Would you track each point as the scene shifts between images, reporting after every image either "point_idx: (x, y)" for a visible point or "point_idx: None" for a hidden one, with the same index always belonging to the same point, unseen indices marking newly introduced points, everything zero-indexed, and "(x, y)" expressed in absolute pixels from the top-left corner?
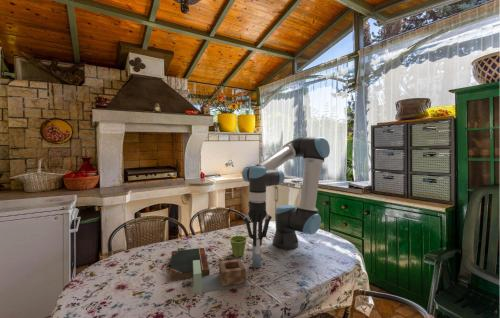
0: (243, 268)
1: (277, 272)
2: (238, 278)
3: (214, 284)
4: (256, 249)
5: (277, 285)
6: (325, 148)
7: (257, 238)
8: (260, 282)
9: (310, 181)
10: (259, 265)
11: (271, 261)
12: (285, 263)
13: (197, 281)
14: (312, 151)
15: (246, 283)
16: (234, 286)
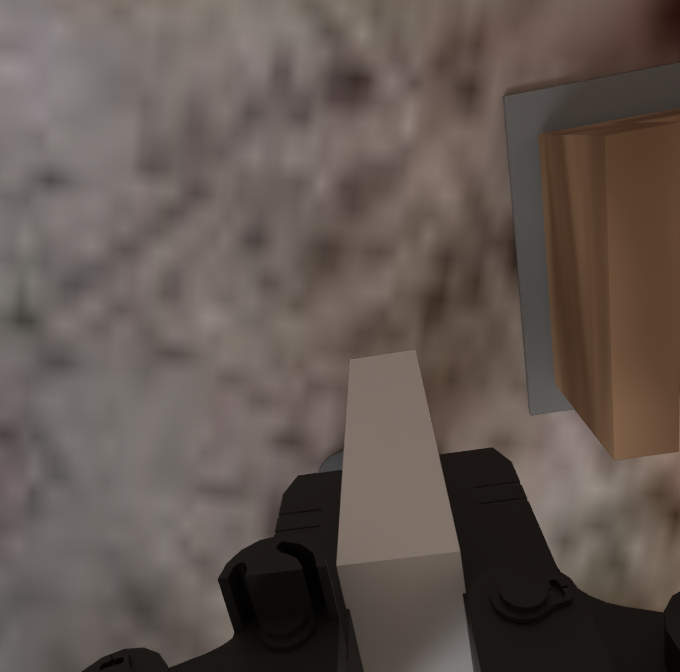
0: (629, 168)
1: (148, 344)
2: (657, 117)
3: None
4: (425, 395)
5: (170, 74)
6: None
7: (406, 657)
8: (358, 157)
9: None
10: (331, 468)
11: (194, 555)
12: (51, 506)
13: None
14: None
15: (525, 136)
16: (677, 81)
